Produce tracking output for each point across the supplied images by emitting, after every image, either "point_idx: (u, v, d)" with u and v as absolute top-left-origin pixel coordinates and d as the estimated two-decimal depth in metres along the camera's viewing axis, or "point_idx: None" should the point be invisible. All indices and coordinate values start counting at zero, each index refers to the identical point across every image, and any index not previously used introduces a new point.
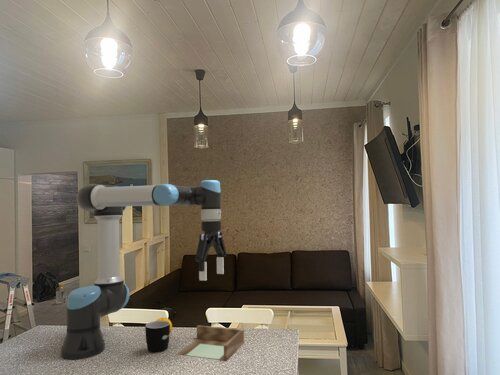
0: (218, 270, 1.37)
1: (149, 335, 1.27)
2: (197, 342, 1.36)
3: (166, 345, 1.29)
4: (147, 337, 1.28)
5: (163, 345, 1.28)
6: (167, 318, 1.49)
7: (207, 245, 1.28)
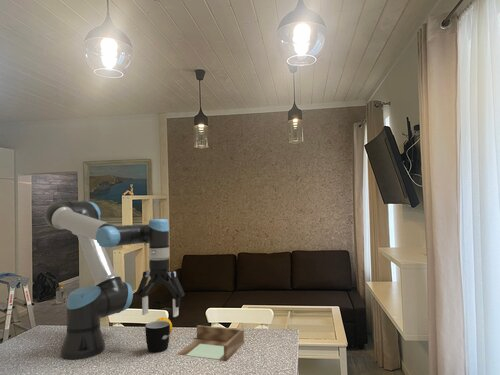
0: None
1: (149, 335, 1.27)
2: (197, 342, 1.36)
3: (166, 345, 1.29)
4: (147, 337, 1.28)
5: (163, 345, 1.28)
6: (167, 318, 1.49)
7: None
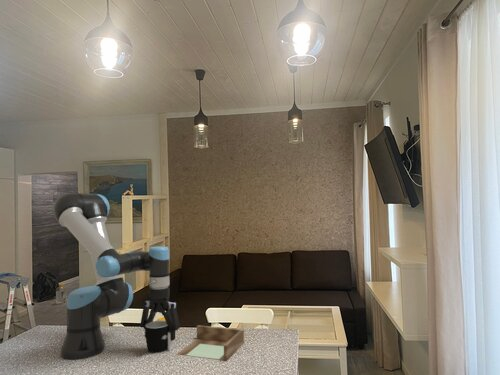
0: None
1: (149, 335, 1.27)
2: (197, 342, 1.36)
3: (166, 345, 1.29)
4: (147, 337, 1.28)
5: (163, 345, 1.28)
6: None
7: None
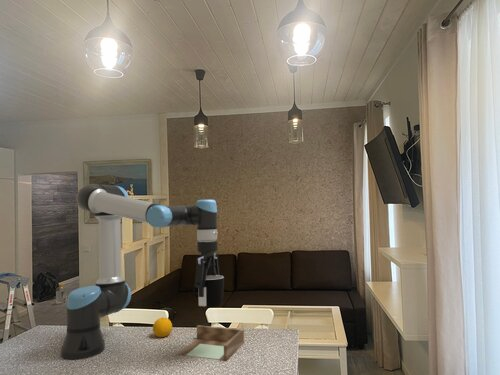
0: None
1: (221, 285, 1.26)
2: (197, 342, 1.36)
3: None
4: (219, 288, 1.25)
5: None
6: (167, 318, 1.49)
7: (205, 268, 1.25)
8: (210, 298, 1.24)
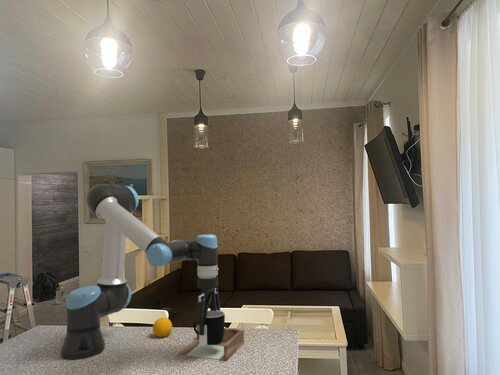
0: None
1: (222, 322, 1.25)
2: (197, 342, 1.36)
3: None
4: (220, 326, 1.24)
5: None
6: (167, 318, 1.49)
7: (205, 305, 1.25)
8: (211, 336, 1.23)
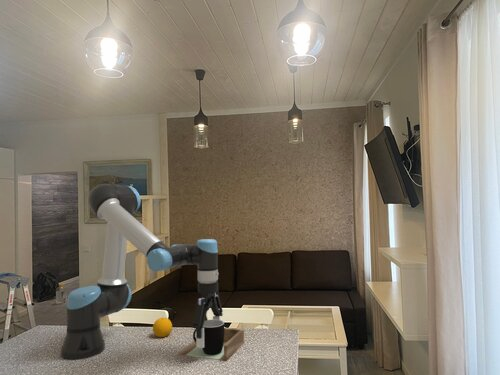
0: None
1: (222, 332, 1.24)
2: None
3: None
4: (220, 336, 1.24)
5: None
6: (167, 318, 1.49)
7: (204, 309, 1.24)
8: (210, 346, 1.22)
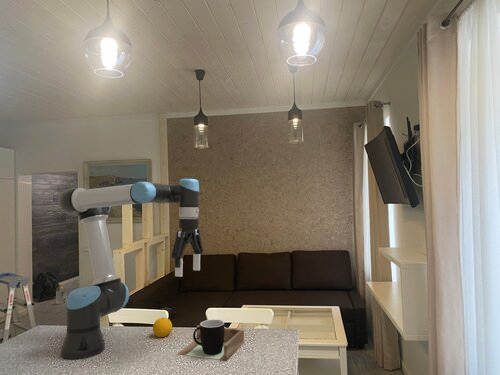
0: (194, 267, 1.41)
1: (222, 332, 1.24)
2: None
3: None
4: (220, 336, 1.24)
5: None
6: (167, 318, 1.49)
7: (184, 242, 1.31)
8: (210, 346, 1.22)
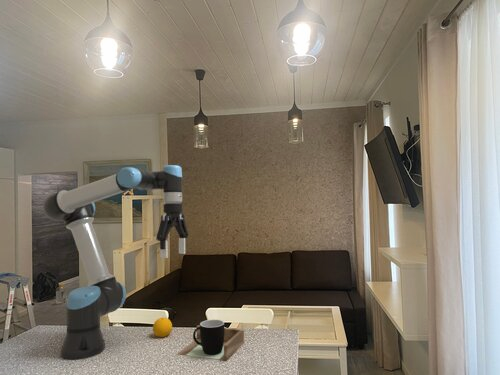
0: (180, 250, 1.47)
1: (222, 332, 1.24)
2: None
3: None
4: (220, 336, 1.24)
5: None
6: (167, 318, 1.49)
7: (168, 225, 1.37)
8: (210, 346, 1.22)
